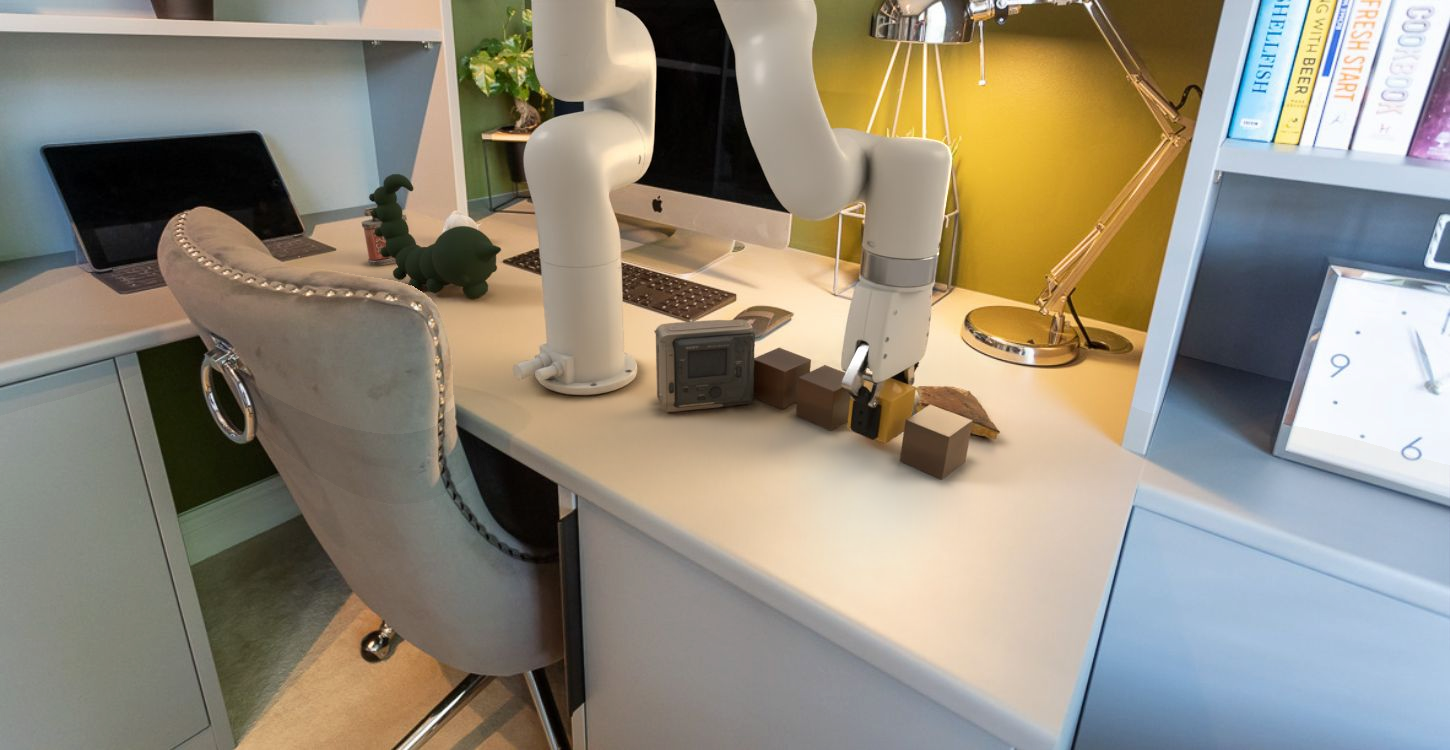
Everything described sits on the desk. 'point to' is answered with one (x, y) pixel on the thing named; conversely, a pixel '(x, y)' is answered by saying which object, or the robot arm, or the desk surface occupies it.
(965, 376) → the desk surface
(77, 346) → the desk surface
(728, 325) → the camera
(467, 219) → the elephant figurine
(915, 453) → the line block
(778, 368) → the line block
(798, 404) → the line block
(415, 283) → the toy figurine
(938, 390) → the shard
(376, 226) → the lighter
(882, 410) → the mustard block
